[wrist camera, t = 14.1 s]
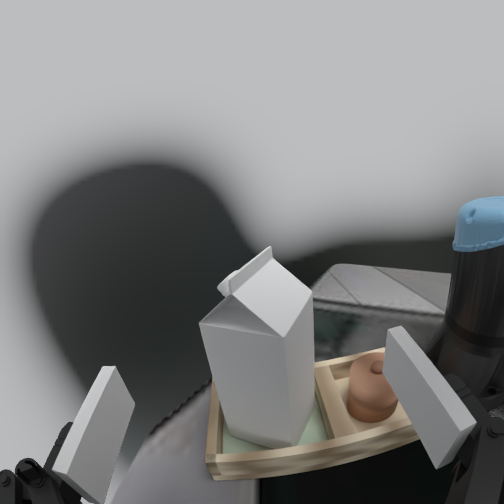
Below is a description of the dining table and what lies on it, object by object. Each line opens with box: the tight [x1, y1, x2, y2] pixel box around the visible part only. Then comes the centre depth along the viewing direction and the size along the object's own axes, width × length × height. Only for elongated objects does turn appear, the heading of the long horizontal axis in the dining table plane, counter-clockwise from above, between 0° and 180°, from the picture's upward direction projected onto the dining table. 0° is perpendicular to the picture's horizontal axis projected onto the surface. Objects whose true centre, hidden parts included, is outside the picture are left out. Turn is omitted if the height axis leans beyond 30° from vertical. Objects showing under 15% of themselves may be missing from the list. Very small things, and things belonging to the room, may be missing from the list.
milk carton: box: [199, 246, 315, 449], centre depth 25 cm, size 7×7×19 cm
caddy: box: [205, 347, 420, 481], centre depth 28 cm, size 23×13×7 cm, turn 93°
